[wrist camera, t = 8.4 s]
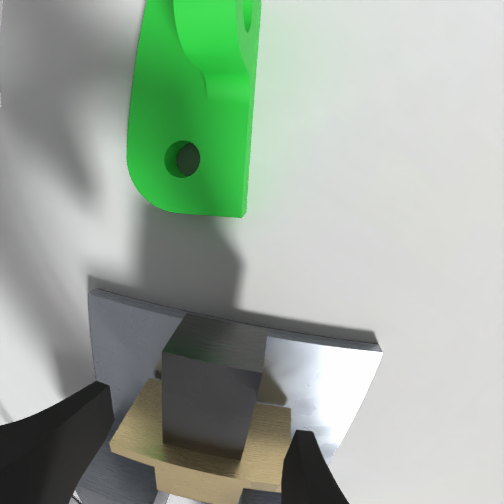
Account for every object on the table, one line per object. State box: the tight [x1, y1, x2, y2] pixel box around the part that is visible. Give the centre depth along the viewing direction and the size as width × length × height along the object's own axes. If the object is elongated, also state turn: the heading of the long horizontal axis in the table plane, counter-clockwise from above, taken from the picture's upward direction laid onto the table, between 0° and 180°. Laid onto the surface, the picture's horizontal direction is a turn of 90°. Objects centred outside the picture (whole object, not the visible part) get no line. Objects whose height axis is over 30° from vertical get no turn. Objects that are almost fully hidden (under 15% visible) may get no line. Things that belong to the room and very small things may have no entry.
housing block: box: [75, 289, 383, 504], centre depth 17 cm, size 18×18×8 cm
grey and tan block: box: [109, 313, 291, 504], centre depth 15 cm, size 11×9×6 cm
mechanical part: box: [127, 0, 261, 218], centre depth 11 cm, size 12×6×8 cm, turn 176°
